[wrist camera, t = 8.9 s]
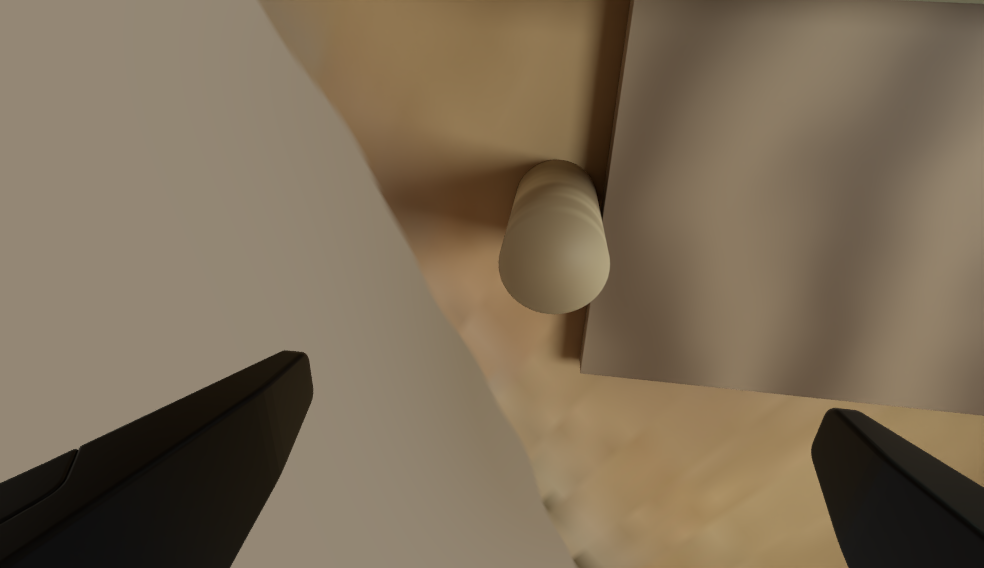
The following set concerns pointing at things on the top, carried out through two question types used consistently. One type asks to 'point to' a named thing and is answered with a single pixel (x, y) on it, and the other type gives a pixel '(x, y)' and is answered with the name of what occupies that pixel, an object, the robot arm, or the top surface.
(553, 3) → the top surface
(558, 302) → the oak dowel
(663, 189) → the board
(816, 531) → the top surface
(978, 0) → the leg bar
